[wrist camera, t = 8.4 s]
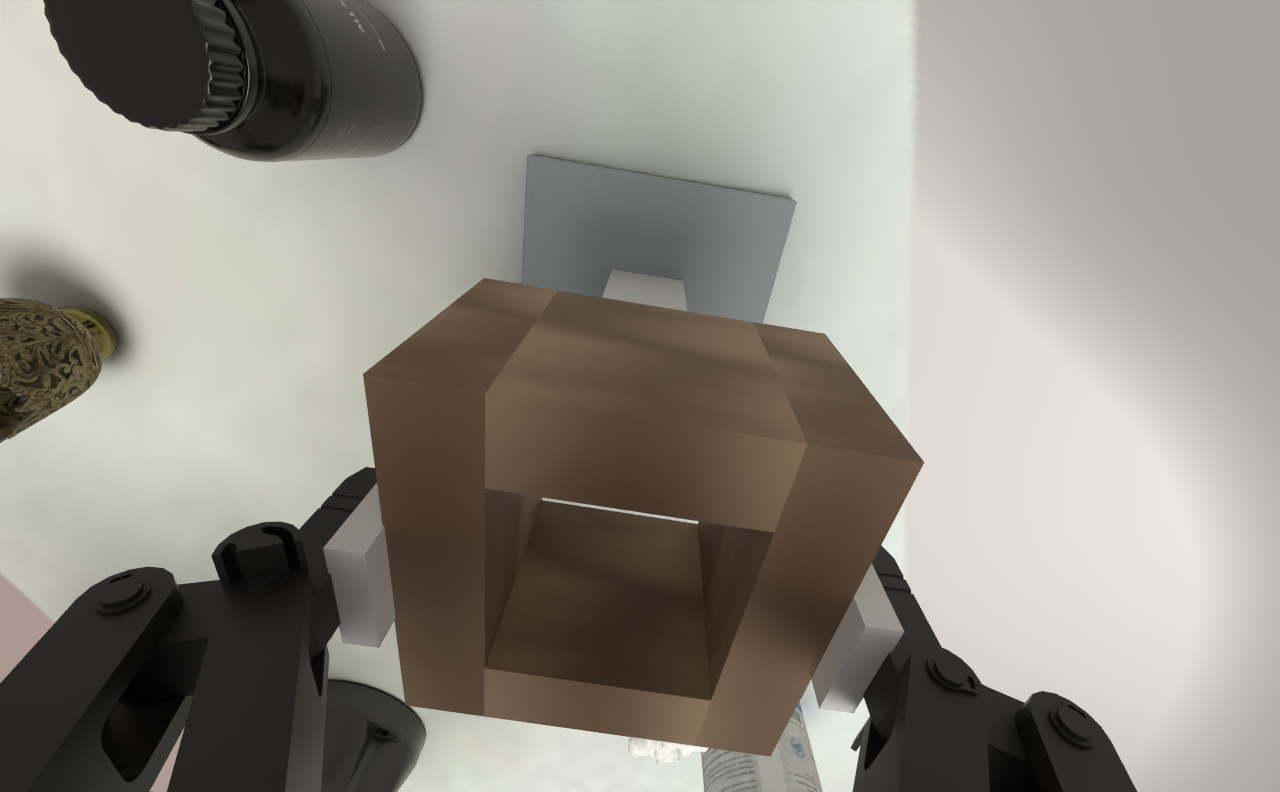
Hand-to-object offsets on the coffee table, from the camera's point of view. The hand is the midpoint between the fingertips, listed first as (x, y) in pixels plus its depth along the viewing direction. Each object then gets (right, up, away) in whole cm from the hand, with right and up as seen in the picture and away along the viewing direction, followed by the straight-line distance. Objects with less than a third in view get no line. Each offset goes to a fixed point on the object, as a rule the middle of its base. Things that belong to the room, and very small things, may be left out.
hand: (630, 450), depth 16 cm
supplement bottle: (-14, +18, +10) cm, 24 cm away
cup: (-35, +6, +17) cm, 39 cm away
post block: (0, +7, +14) cm, 16 cm away
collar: (0, 0, 0) cm, 0 cm away
